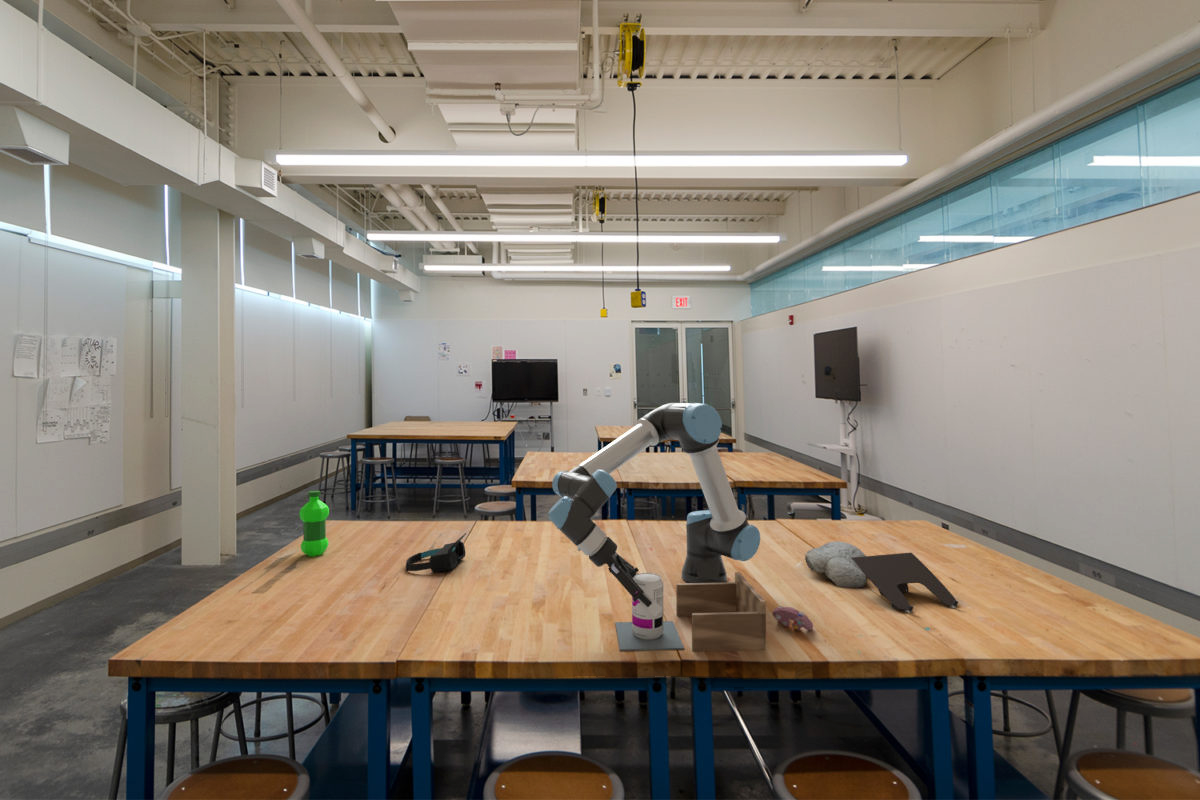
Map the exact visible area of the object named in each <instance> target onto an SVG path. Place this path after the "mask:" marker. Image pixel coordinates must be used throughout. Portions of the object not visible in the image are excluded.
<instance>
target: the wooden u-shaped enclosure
mask: <svg viewBox="0 0 1200 800" xmlns="http://www.w3.org/2000/svg"><path fill="white" fill-rule="evenodd" d="M675 586H676V587H675V588H676V589H675V590H676V591H675V593H676V596H675V597H676V599H675V601H676V603H675V605H676V606H675V607H676V608H675V609H676V611H675V612H676V613H675V614H676V616H677V617H691V641H692V642H691V650H692V652H712V651H714V652H717V651H718V652H719V651H722V652H723V651H757V650H758V651H759V650H761V651H763V650H766V649H767V647H766V646H767V640H766V639H767V633H766V631H767V619H766V617H767V612H766V611H767V608H766V607H767V601H766V600H765V599H764V598H763V597H762V596H761V594H759V592H758V591H757V590H756V589H755V588H754V587H753V586H752V585H751V583H750V582H749V581H748V580H747V579H746V578H745V577H744V575H742V574H741V572H739V571H734V582H725V583H688V582H684V583H681V582H679V583H676V585H675Z"/></svg>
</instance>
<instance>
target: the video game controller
mask: <svg viewBox="0 0 1200 800" xmlns="http://www.w3.org/2000/svg"><path fill="white" fill-rule="evenodd" d="M772 616H773V618H774V619H775V620H776V621H777V622H780V624H782V626H783V627H786V628H787V627H789V626H790V625H791V627H792V628H793V630H797V631H800V630H801V629H802V628H803V629H805V630H807V631H812V630H813V628H814V624H813V621H812V620H811V619H810V618H809V616H808V615H806V614H805V613H804V612H803V611H799V610H797V609H795V607H791V606H782V605H779V606H777V607H776V608H774V610H772ZM790 620H791V621H792V624H791V621H790Z"/></svg>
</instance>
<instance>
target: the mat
mask: <svg viewBox="0 0 1200 800" xmlns="http://www.w3.org/2000/svg"><path fill="white" fill-rule="evenodd" d="M614 625H615V631H616V637H617V641H618V647H619V652H622V651H627V652H628V651H665V650H667V651H668V650H685V647H684V644H683V643H682V640H681V637H680V635H679V633H678V630H677V628H676V625H675V623H674V621H673V620H663V634H662V635H661V636H660V637H659V638H657V639H653V640H646V639H641V638H638V637H636V636H635V634H634V633H633V632H632V621H615V623H614Z"/></svg>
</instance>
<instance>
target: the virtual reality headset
mask: <svg viewBox="0 0 1200 800" xmlns="http://www.w3.org/2000/svg"><path fill="white" fill-rule="evenodd" d="M466 535H467V532H465V533H464V534H463V535H461V537H459V538H458V539H457V540H456V541H455V542H451V543H446V544H444V545H443V547H440V548H434V549H429V550H425V551H422V552H418V553H415V554H413V555H412V556H410V557H408V558H407V559H406V561H405V571H406V572H407V571H409V572H418V571H424V570H431V572H432V573H442V572H449V571H453V569H454V568H455V567H456V566H457V565H458V564H459V563H460V562H461V561H462V560H464V558H465V557H466V548H465V547H466V546H465V544H464V542H463V541H461V540H462V539H463V538H465V536H466ZM428 557H429V561H428V562H421V563H417V562H420V561H421V560H423V559H424V558H428Z"/></svg>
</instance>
